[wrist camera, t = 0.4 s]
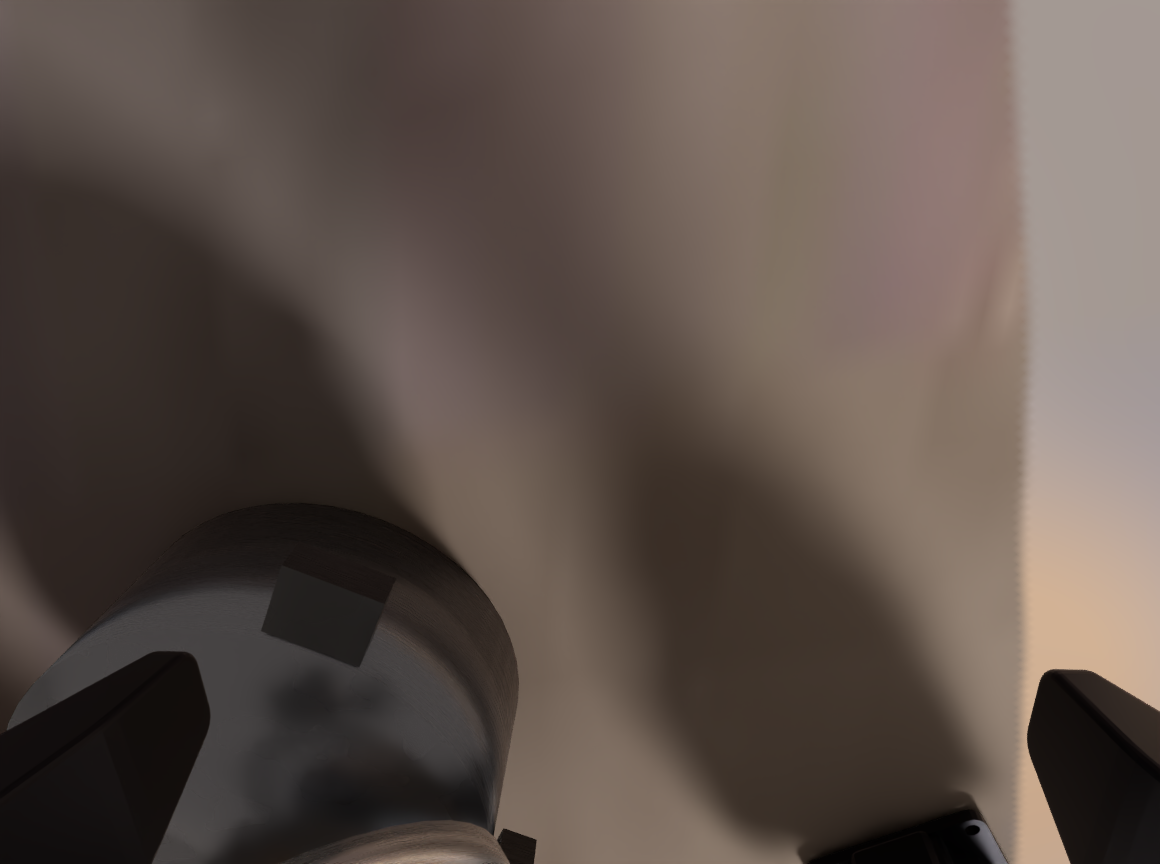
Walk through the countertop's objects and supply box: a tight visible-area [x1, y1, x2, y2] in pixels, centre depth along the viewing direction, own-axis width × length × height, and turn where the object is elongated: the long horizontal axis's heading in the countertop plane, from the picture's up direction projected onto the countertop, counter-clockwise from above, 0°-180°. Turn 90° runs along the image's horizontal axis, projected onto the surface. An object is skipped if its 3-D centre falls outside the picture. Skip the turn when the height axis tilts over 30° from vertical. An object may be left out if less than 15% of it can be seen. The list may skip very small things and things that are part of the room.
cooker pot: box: [7, 503, 537, 864], centre depth 23 cm, size 14×17×6 cm
